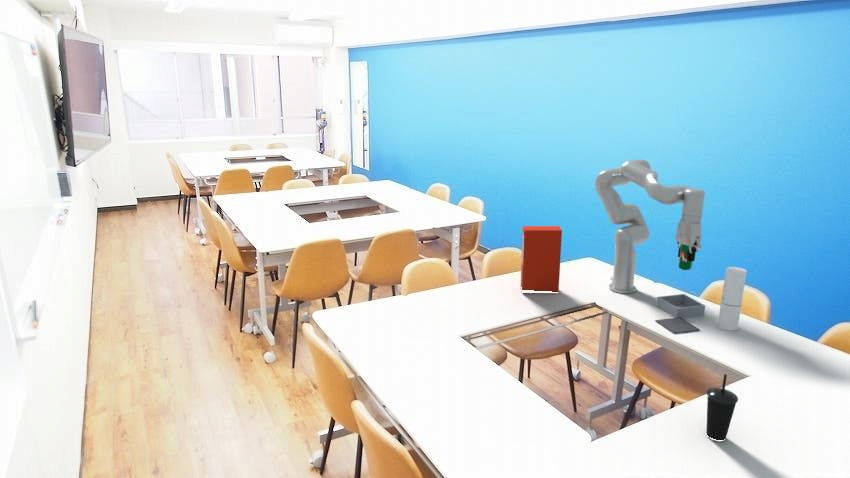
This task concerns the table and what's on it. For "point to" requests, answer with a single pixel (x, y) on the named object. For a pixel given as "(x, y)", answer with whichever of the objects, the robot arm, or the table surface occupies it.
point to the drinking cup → (720, 411)
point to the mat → (677, 325)
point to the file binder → (541, 258)
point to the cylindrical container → (732, 298)
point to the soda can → (684, 258)
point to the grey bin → (691, 310)
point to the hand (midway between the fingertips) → (686, 258)
